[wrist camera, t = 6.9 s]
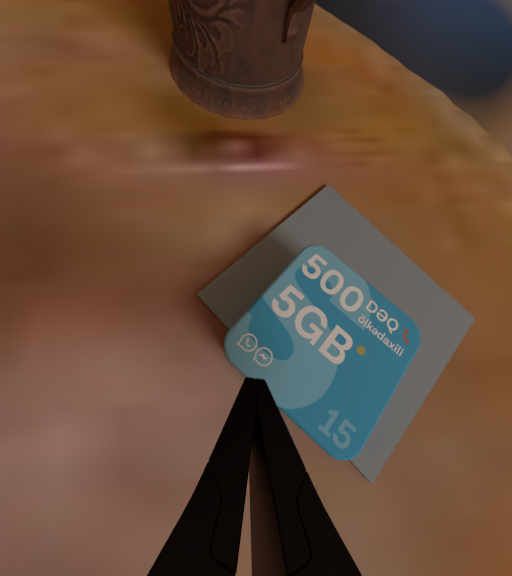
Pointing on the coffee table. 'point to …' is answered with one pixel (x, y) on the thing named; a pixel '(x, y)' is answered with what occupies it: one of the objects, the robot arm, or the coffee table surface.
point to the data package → (325, 349)
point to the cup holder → (240, 54)
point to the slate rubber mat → (378, 273)
